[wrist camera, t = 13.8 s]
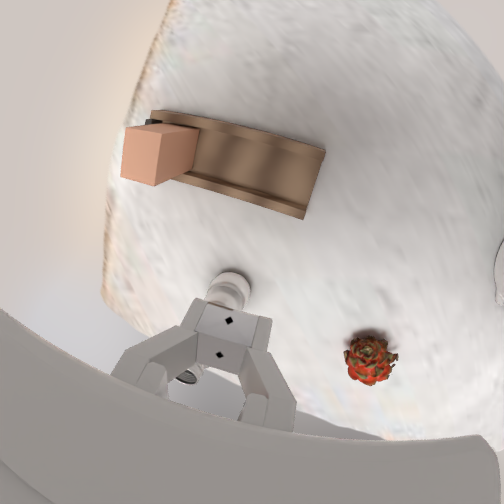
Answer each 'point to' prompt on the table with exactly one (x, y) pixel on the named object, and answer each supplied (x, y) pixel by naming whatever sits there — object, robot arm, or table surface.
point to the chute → (249, 163)
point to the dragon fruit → (369, 360)
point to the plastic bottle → (226, 294)
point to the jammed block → (158, 152)
